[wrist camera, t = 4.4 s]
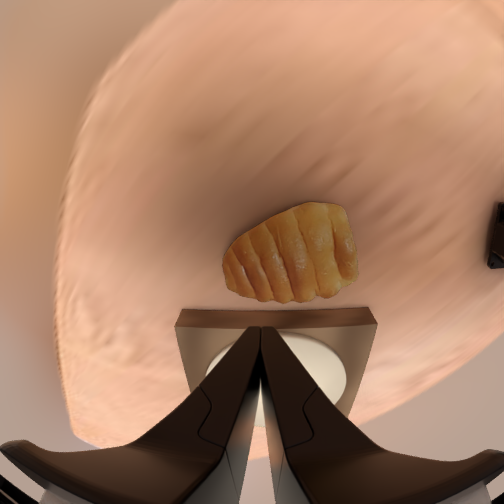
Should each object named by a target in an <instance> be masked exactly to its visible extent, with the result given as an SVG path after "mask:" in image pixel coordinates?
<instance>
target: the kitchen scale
mask: <svg viewBox="0 0 504 504" xmlns="http://www.w3.org/2000/svg"><path fill="white" fill-rule="evenodd" d="M377 325H378V324H377V322H376V320H375V318H374V316H373V314H372V313H371V311H370V309H369V307H367V308H351V309H330V310H300V311H212V310H182V311H181V313H180V315H179V318H178V320H177V322H176V324H175V326H174V327H175V332H176V336H177V341H178V345H179V349H180V353H181V358H182V362H183V366H184V370H185V373H186V377H187V381H188V385H189V388H190V392H192V391H193V390H194V389H195V388H196V387H197V386H199V384H200V382H201V381H202V380H203V379H204V378H205V377H206V376H207V374H208V373H209V372H210V371H211V370H212V369H213V368H214V366H215V365H216V364H217V363H218V362H219V361H220V359H221V358H222V357H223V356H224V355H225V354H226V352H227V351H228V350H229V349H230V348H231V346H232V345H233V344H234V343H235V342H236V340H237V339H238V338H239V337H240V336H241V334H242V333H243V332H244V331H245V330H246V328H247V327H248V326H260V327H262V326H274V327H275V328H276V330H277V331H278V333H279V334H280V335H281V337H282V338H283V339H284V341H285V342H286V343H287V345H288V346H289V347H290V349H291V350H292V351H293V353H294V354H295V355H296V357H297V358H298V359H299V361H300V362H301V363H302V365H303V366H304V367H305V369H306V370H307V371H308V372H309V374H310V375H311V376H312V378H313V379H314V380H315V382H316V383H317V384H318V386H319V387H320V388H321V389H322V391H323V392H324V393H325V395H326V396H327V397H328V398H329V399H330V400H331V402H332V403H333V404H334V405H335V406H336V407H337V408H338V409H339V410H340V411H341V412H342V413H343V414H344V415H345V416H346V417H347V418H348V415H349V413H350V410H351V408H352V405H353V402H354V400H355V397H356V394H357V391H358V389H359V386H360V383H361V380H362V377H363V374H364V371H365V367H366V364H367V361H368V358H369V354H370V351H371V347H372V344H373V340H374V336H375V333H376V329H377ZM254 426H259V427H265V419H264V412H263V404H262V396H261V384H260V394H259V400H258V406H257V412H256V417H255V423H254Z"/></svg>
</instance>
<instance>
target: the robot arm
mask: <svg viewBox="0 0 504 504" xmlns="http://www.w3.org/2000/svg"><path fill="white" fill-rule="evenodd" d="M487 266H488V267H489V268H490V269H496V268H504V202H500V203H499V205H498V211H497V218H496V224H495V230H494V235H493V240H492V245H491V250H490V254H489V258H488V262H487ZM260 384H261V396H262V404H263V412H264V419H265V427H266V435H267V443H268V450H269V458H270V465H271V473H272V481H273V488H274V495H275V501H276V504H504V493H502V494H501V495H499V496H498V497H497V498H495V499H494V500H492V501H491V499H490V496H489V493H488V490H487V488H486V485H487V484H488V483H490V482H491V481H492V480H493V479H495V478H496V477H497V476H498V475H500V474H501V473H502V472H503V471H504V452H502V451H498V450H492V449H487V450H484V451H482V452H480V453H478V454H476V455H475V456H473V457H471V458H468V459H465V460H460V461H439V460H432V459H426V458H420V457H415V456H410V455H405V454H400V453H395V452H391V451H388V450H386V449H384V448H382V447H380V446H378V445H377V444H376V443H374V442H373V441H372V440H371V439H369V438H368V437H367V436H366V435H365V434H364V433H363V432H362V431H361V430H360V429H359V428H358V427H356V426H355V425H354V424H353V423H352V422H351V421H350V420H349V419H348V418H347V417H346V416H345V415H344V414H343V413H342V412H341V411H340V410H339V409H338V408H337V407H336V406H335V405H334V404H333V403H332V402H331V400H330V399H329V398H328V397H327V396H326V395H325V393H324V392H323V391H322V389H321V388H320V387H319V386H318V384H317V383H316V382H315V380H314V379H313V378H312V376H311V375H310V374H309V372H308V371H307V370H306V369H305V367H304V366H303V365H302V363H301V362H300V361H299V359H298V358H297V357H296V355H295V354H294V353H293V351H292V350H291V349H290V347H289V346H288V345H287V343H286V342H285V341H284V339H283V338H282V337H281V335H280V334H279V333H278V331H277V330H276V328H275V327H274V326H262V327H260V326H248V327H247V328H246V330H245V331H244V332H243V333H242V334H241V336H240V337H239V338H238V339H237V340H236V342H235V343H234V344H233V345H232V346H231V348H230V349H229V350H228V351H227V352H226V354H225V355H224V356H223V357H222V358H221V359H220V361H219V362H218V363H217V364H216V365H215V366H214V368H213V369H212V370H211V371H210V372H209V373H208V374H207V376H206V377H205V378H204V379H203V380H202V381H201V382H200V384H199V386H197V387H196V388H195V389H194V390H193V391H192V392H191V394H190V395H189V396H188V397H187V398H186V399H185V400H184V401H183V402H182V403H181V404H180V405H179V406H178V407H176V408H175V409H174V410H173V411H172V412H171V413H170V414H168V415H167V416H166V417H165V418H164V419H162V420H161V421H160V422H159V423H157V424H156V425H155V426H154V427H152V428H151V429H150V430H149V431H147V432H146V433H145V434H144V435H142V436H141V437H140V438H138V439H137V440H135V441H133V442H131V443H129V444H127V445H123V446H119V447H113V448H106V449H98V450H89V451H78V452H52V451H48V450H45V449H42V448H40V447H38V446H36V445H35V444H33V443H31V442H29V441H27V440H15V441H9V442H7V443H4V444H2V445H1V446H0V451H1V452H2V454H3V455H4V456H5V457H6V458H7V459H8V460H10V461H11V462H12V463H13V464H14V465H15V466H16V467H18V468H19V469H20V470H21V471H22V472H23V473H25V474H26V475H27V476H28V477H30V478H31V479H32V480H33V481H35V482H36V483H37V484H39V485H40V486H41V487H43V488H44V489H45V491H44V493H43V495H42V498H41V500H40V502H39V503H38V502H37V501H36V500H34V499H33V498H31V497H29V496H28V495H27V494H25V493H24V492H23V491H21V490H20V489H18V488H17V487H16V486H14V485H13V484H12V483H11V482H9V481H8V480H6V479H5V478H4V477H3V476H2V475H0V504H239V500H240V495H241V490H242V485H243V481H244V476H245V471H246V466H247V460H248V455H249V450H250V445H251V439H252V434H253V428H254V423H255V417H256V412H257V406H258V400H259V394H260Z"/></svg>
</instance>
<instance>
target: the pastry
mask: <svg viewBox="0 0 504 504" xmlns="http://www.w3.org/2000/svg"><path fill="white" fill-rule="evenodd" d="M222 266H223V272H224V275H225V280H226V285H227V288H228V289H229V290H231V291H233V292H236V293H238V294H239V295H240V296H243V297H248V298H254V299H257V300H258V301H260V302H267V301H270V300H274V301H277V302H280V303H282V304H285V303H287V302H289V301H296V302H299V303H302V302H309V301H311V300H312V299H313V298H314V297H315V296H321V297H323V298H330V297H332V296H334V295H336V294H337V293H338V291H339V290H340V288H342V287H344V286H348V285H350V284H351V283H352V282H354V281H356V279H357V277H358V260H357V249H356V246H355V243H354V241H353V234H352V231H351V228H350V225H349V221H348V218H347V214H346V211H345V210H344V209H343V208H342V207H341V206H340V205H337V204H332V203H317V202H307V203H303V204H301V205H298V206H295V207H292V208H290V209H288V210H286V211H284V212H282V213H279V214H277V215H274V216H272V217H270V218H269V219H267V220H266V221H264V222H262V223H261V224H259V225H257V226H256V227H254V228H252V229H251V230H249V231H247V232H246V233H244V234H243V235H241V236H240V237H238V238H237V239H236V240H235V241H234V242H233V243H232V245H231V246H230V247H229V249H228V250H227V252H226V254H225V255H224V257H223V264H222Z"/></svg>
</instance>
